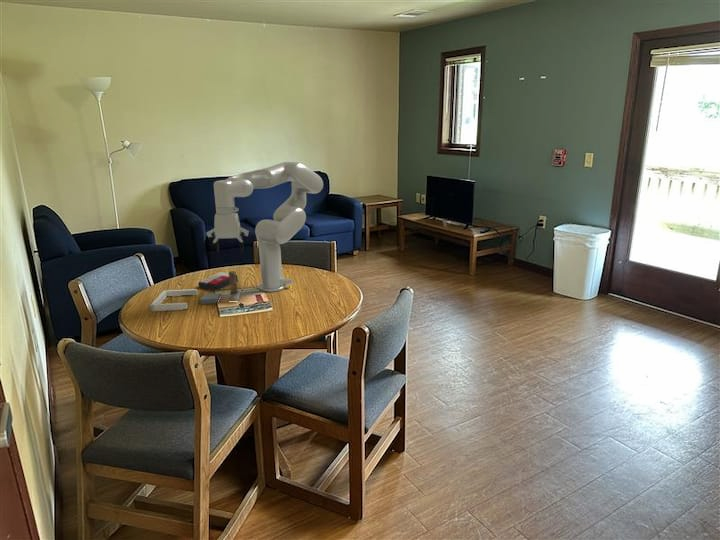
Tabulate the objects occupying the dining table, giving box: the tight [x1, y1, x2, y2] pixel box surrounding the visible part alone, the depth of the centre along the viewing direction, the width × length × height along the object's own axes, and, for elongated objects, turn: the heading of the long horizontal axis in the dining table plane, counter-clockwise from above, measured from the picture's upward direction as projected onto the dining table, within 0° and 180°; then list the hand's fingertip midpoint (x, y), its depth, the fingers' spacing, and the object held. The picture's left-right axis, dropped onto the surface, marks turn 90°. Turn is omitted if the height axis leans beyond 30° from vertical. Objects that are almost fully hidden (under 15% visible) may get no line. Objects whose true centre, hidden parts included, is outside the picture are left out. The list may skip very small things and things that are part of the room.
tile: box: [200, 292, 222, 305], centre depth 214 cm, size 7×7×2 cm
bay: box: [149, 288, 198, 312], centre depth 212 cm, size 14×19×2 cm
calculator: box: [198, 271, 239, 291], centre depth 235 cm, size 11×4×15 cm
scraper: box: [227, 270, 242, 301], centre depth 213 cm, size 4×8×12 cm, turn 4°
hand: (229, 251), depth 208 cm, fingers open, 9 cm apart
